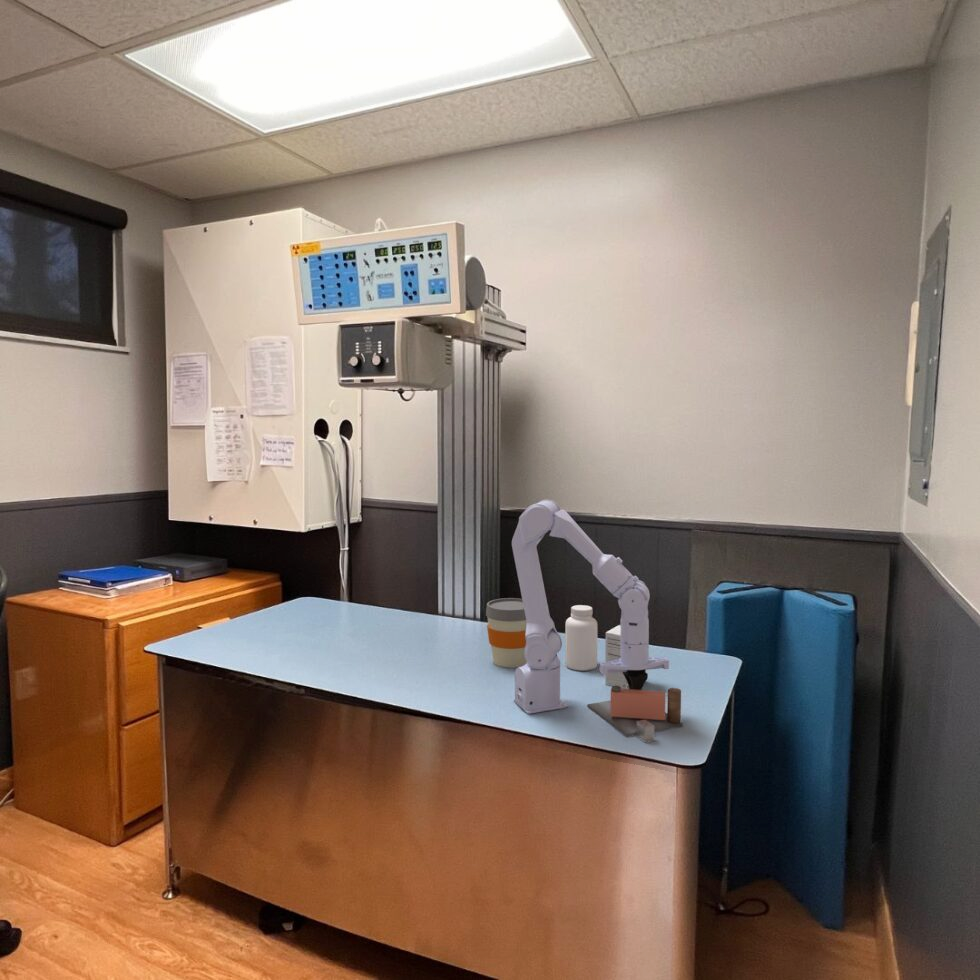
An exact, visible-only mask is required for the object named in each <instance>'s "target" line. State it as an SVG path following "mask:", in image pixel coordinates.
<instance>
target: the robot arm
mask: <svg viewBox="0 0 980 980" xmlns="http://www.w3.org/2000/svg"><path fill="white" fill-rule="evenodd" d="M549 531H550V533H549V537H554V538H559V539H561V538H562V539H564V540H565V541H566V542H568V543H569V544H570V545H571V546H572V547H573V548H574V549H575V550H576V551H577V552H578V553H579V554H581V556H582V557H584V559H585V560H587V561H588V562H589V563H590V564H591V566H592V574H593V576H594V577H595V578H596V579H597V580H598V581H599V582H600V583H601V584H602V585H603V586H604V587H605V589H607V590H608V591H609V593H611V595H613V597H615V598H617V603H618V606H619V609H621V612H620V613H621V615H620V625H621V640H620V646H621V659H617V660H613V661H609V662H600V663H599V673H601V675H603V676H605V675H608V674H609V673H619V672H623V674H624V676H625V678H626V680H627V683H628V685H629V689H633V690H643V687H644V685H645V683H646V682H647V680H648V677H649V676H648V675H649V674H648V673H647V670H658V669H663V670H669V669H670V659H668V658H667V657H666V656H661V657H659V656H657V657H653V656H649V651H650V649H649V648H650V647H649V645H650V644H649V642H650V641H649V640H650V632H649V629H650V626H649V625H650V622H649V621H650V619H649V610H648V609H649V608H648V606H649V601H650V596H651V595H650V590H649V588H648V587H647V585H646V583H645V582H644V581H642V580H639V577H638V576H637V575H632V573H631V572H630V571H629V570H628V569H627V568H626V567H625V566H624V565H623V562H624V560H622V559H621V557H619V556H618V557H615V555H613V554H605V553H603V551H601V549H600V548H599V547H598V546H597V545H596V543H594V541H593V540H592V539H591V538H590V537H589V536H588V535H587V534H586V533H585V531H584V530H583V529H582V528H581V527H580V525H578V524H577V522H576V521H575V520H574V518H572V516H570V514H569V513H568V512H567V511H566V510H564V509H563V508H562V509H561V506H559V504H558V503H557V502H556V501H554V500H551V499H542V500H540V501H538V502H537V503H534V504H531V505H529V506H528V507H527V508H526V509H525V510H524V511H523V512H522V513H521V515H520V516H519V517H518V523H517V526H516V529H515V531H514V533H513V536H512V540H511V547H512V548H511V549H512V553H513V558H514V563H515V569H516V574H517V578H518V583H519V588H520V589H519V590H520V595H521V599H522V600H523V605H524V610H525V616H526V621H527V627H526V634H525V637H526V647H525V651H524V655H525V659H526V661H527V664H525V665H523V666H519V667H516V669H515V670H514V671H515V672H514V698H513V702H514V703H516V705H518V706H519V707H520V708H521V709H522V710H523V711H524V712H525V713H527V714H528V715H530V714H535V713H542V712H547V711H554V710H559V709H565V708H568V706H569V705H568V703H566V702H565V701H564V700H562V699H561V660H560V658H559V656H558V654H559V652H560V651H561V649H562V646H563V641H562V637H561V635H560V634H559V632H558V631H557V629H556V627H555V622H554V621H553V619H552V618H551V616H550V611H549V605H548V600H547V596H546V595H547V594H546V590H545V585H544V580H543V574H542V569H541V564H540V558H539V554H538V548H537V546H538V545H539V543H540V542H541V540H542V539H543V538H544V537H545V535H546V533H548V532H549ZM645 670H646V672H645Z"/></svg>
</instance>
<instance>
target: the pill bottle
mask: <svg viewBox="0 0 980 980" xmlns="http://www.w3.org/2000/svg"><path fill="white" fill-rule="evenodd" d="M593 614H594V613H593V607H592V606H590V605H585V604H584V605H583V604H577V605H573V606H571V607H570V617H568V618H567V619H566V620H565V625H564V626H565V636H564V637H565V647H564V648H565V649H564V652H565V654H564V655H565V665H566V668H568V669H570V670H575V671H584V672H585V671H591V670H595V669H596V668H597V665H598V621H597V620H596V619H595V618H594V617H593Z"/></svg>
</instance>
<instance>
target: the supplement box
mask: <svg viewBox="0 0 980 980" xmlns="http://www.w3.org/2000/svg"><path fill="white" fill-rule="evenodd" d="M620 640H621V624H618V625H617V626H615V627H612V628H611V629H610V630H607V631H606V632H605V649H604V650H605V651H604V653H605V658H604V660H605V662H609V661H613V660H617V659H621V646H620ZM605 662H604V663H605ZM645 672H646V673H647V670H645ZM604 676H605V685H607V686H611V687H612V686H620V687H621V689H629V685H628V683H627V680H626V678H625V676H624V674H623V672H619V673H609V674H608V675H604Z"/></svg>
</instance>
